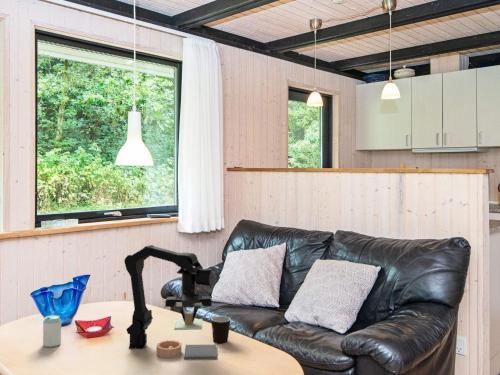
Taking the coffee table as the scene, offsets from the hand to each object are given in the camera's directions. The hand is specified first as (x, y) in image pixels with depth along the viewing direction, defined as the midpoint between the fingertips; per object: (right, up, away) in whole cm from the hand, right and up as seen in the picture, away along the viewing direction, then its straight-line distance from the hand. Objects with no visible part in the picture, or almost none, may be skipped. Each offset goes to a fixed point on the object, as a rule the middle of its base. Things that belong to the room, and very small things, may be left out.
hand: (188, 322), depth 197 cm
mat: (+5, -13, +1) cm, 14 cm away
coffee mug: (+12, -13, +17) cm, 24 cm away
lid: (0, -1, 0) cm, 1 cm away
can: (-59, -12, +6) cm, 60 cm away
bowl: (-8, -13, 0) cm, 15 cm away
